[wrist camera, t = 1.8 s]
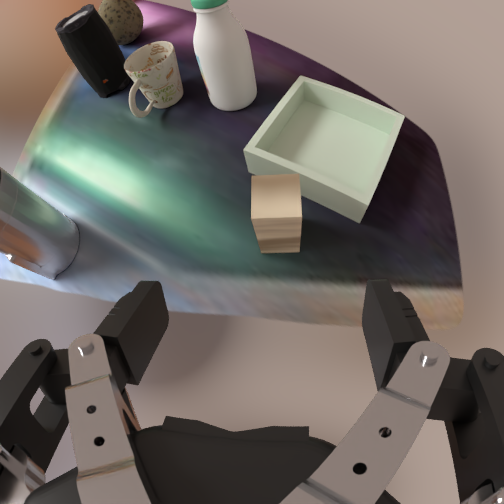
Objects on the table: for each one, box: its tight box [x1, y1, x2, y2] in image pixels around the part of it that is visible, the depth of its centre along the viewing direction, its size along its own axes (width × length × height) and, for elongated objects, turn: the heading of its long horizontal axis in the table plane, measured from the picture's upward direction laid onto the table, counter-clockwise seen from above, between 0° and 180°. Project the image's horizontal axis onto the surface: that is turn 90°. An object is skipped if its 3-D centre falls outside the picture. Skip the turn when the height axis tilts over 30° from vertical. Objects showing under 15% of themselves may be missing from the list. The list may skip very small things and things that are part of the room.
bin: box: [243, 75, 405, 224], centre depth 38 cm, size 16×16×5 cm
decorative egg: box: [98, 0, 143, 45], centre depth 51 cm, size 11×11×15 cm
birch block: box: [251, 174, 302, 253], centre depth 33 cm, size 4×4×10 cm
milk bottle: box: [191, 0, 257, 111], centre depth 37 cm, size 8×8×20 cm
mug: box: [124, 41, 183, 118], centre depth 43 cm, size 8×13×10 cm, turn 164°
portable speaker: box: [55, 4, 131, 98], centre depth 43 cm, size 9×9×20 cm
